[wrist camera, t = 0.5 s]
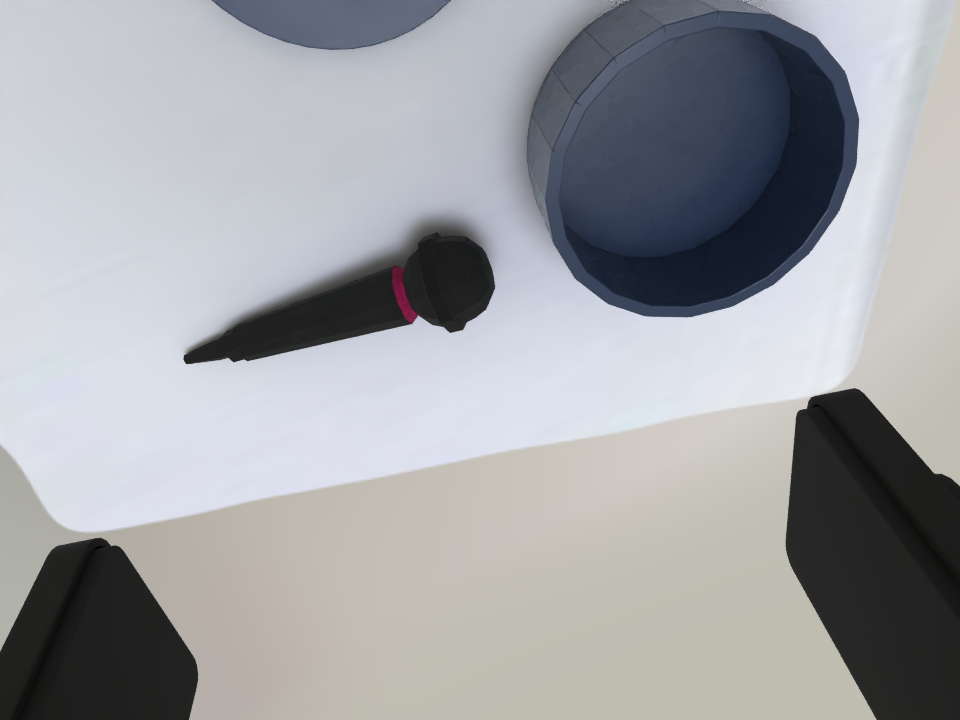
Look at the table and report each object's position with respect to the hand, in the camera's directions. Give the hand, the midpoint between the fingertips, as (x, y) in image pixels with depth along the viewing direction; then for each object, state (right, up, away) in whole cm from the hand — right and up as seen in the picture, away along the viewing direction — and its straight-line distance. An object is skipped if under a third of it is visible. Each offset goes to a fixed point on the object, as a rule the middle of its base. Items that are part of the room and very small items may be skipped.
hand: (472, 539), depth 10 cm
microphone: (-9, +7, +35) cm, 37 cm away
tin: (+10, +15, +32) cm, 36 cm away
